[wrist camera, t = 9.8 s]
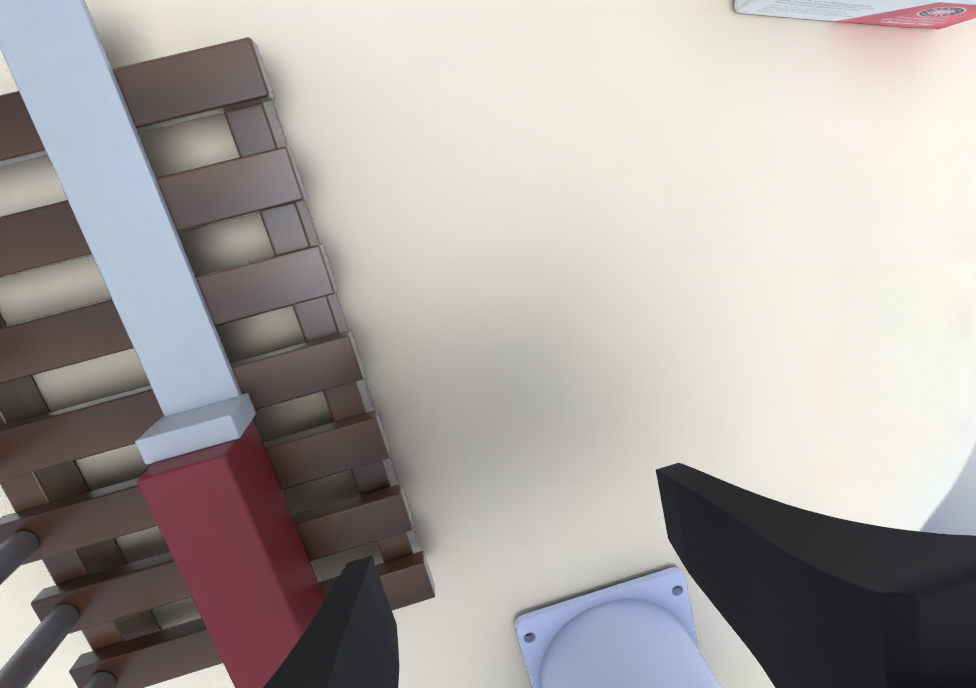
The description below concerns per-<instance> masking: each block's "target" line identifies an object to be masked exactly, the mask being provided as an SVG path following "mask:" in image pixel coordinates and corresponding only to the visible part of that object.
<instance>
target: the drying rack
mask: <svg viewBox="0 0 976 688" xmlns="http://www.w3.org/2000/svg"><path fill="white" fill-rule="evenodd" d="M112 70H113V72H114V75H115V77H116V80H117V82H118V85H119V87H120V90H121V92H122V95H123V98H124V100H125V103H126V105H127V108H128V110H129V113H130V115H131V118H132V120H133V123H134V125H135V128H136V130H137V133H140V132H144V131H148V130H153V129H157V128H161V127H165V126H169V125H173V124H177V123H182V122H186V121H190V120H194V119H198V118H202V117H206V116H210V115H215V114H219V113H223V112H224V114H225V117H226V119H227V122H228V125H229V128H230V131H231V134H232V136H233V139H234V142H235V145H236V148H237V150H238V153H239V156H240V158H236V159H232V160H227V161H223V162H219V163H215V164H211V165H207V166H203V167H199V168H195V169H191V170H187V171H183V172H179V173H175V174H171V175H167V176H163V177H159V178H156V180H157V183H158V185H159V188H160V190H161V193H162V195H163V198H164V200H165V203H166V205H167V208H168V210H169V213H170V215H171V218H172V220H173V223H174V225H175V228H176V230H177V233H179V232H183V231H187V230H191V229H195V228H199V227H203V226H207V225H211V224H215V223H219V222H222V221H226V220H230V219H234V218H238V217H242V216H246V215H250V214H254V213H258V212H259V213H260V215H261V218H262V221H263V224H264V227H265V229H266V232H267V235H268V238H269V241H270V244H271V246H272V249H273V252H274V255H275V256H271V257H267V258H263V259H259V260H256V261H252V262H248V263H244V264H240V265H236V266H233V267H229V268H225V269H221V270H217V271H213V272H210V273H206V274H202V275H198V276H195V278H196V280H197V283H198V285H199V288H200V290H201V293H202V295H203V298H204V300H205V303H206V305H207V308H208V310H209V313H210V315H211V318H212V320H213V323H214V325H215V326H217V325H221V324H225V323H228V322H232V321H236V320H240V319H243V318H247V317H251V316H254V315H258V314H262V313H266V312H269V311H273V310H277V309H281V308H284V307H288V306H293V308H294V311H295V314H296V317H297V320H298V322H299V325H300V328H301V331H302V334H303V337H304V339H305V343H302V344H298V345H294V346H291V347H287V348H284V349H280V350H276V351H273V352H269V353H265V354H262V355H258V356H254V357H251V358H247V359H243V360H240V361H236V362H232V363H230V365H231V368H232V370H233V373H234V375H235V378H236V380H237V383H238V385H239V388H240V390H241V394H244V393H248V394H249V397H250V399H251V402H252V404H253V407H254V409H255V410H257V409H260V408H264V407H267V406H271V405H274V404H278V403H282V402H285V401H289V400H292V399H296V398H299V397H303V396H306V395H310V394H314V393H317V392H321V391H323V393H324V396H325V399H326V401H327V404H328V407H329V410H330V413H331V416H332V418H333V421H334V422H332V423H329V424H325V425H322V426H318V427H315V428H311V429H308V430H304V431H301V432H297V433H294V434H290V435H287V436H283V437H280V438H276V439H273V440H269V441H266V442H262V443H263V445H264V448H265V450H266V453H267V455H268V458H269V460H270V463H271V465H272V468H273V471H274V473H275V476H276V478H277V481H278V483H279V486H280V488H281V489H285V488H288V487H292V486H295V485H299V484H302V483H306V482H309V481H312V480H316V479H319V478H323V477H326V476H330V475H333V474H336V473H340V472H343V471H347V470H350V469H351V472H352V475H353V478H354V480H355V483H356V486H357V489H358V492H359V494H360V496H357V497H353V498H350V499H346V500H343V501H340V502H336V503H333V504H330V505H326V506H323V507H319V508H316V509H313V510H309V511H306V512H302V513H299V514H296V515H292V518H293V521H294V523H295V526H296V528H297V531H298V533H299V536H300V538H301V541H302V543H303V546H304V548H305V551H306V553H307V556H308V558H309V561H312V560H315V559H318V558H322V557H325V556H328V555H332V554H335V553H338V552H342V551H345V550H348V549H352V548H355V547H358V546H362V545H365V544H368V543H372V542H375V541H376V542H377V545H378V548H379V551H380V554H381V557H382V559H383V562H384V563H380V564H377V565H375V566H376V569H377V571H378V574H379V577H380V580H381V582H382V585H383V588H384V591H385V593H386V596H387V599H388V602H389V605H390V607H391V610H395V609H398V608H402V607H405V606H408V605H411V604H415V603H418V602H421V601H424V600H427V599H431V598H434V597H435V586H434V581H433V578H432V575H431V572H430V569H429V566H428V563H427V560H426V557H425V554H424V551H421V549H420V546H419V543H418V540H417V537H416V534H415V530H414V527H413V518H412V515H411V512H410V508H409V505H408V502H407V499H406V496H405V493H404V490H403V487H402V485H401V484H399V482H398V479H397V476H396V473H395V470H394V467H393V464H392V461H391V458H390V455H389V453H390V447H389V444H388V441H387V438H386V435H385V432H384V429H383V426H382V423H381V420H380V417H379V414H378V411H377V410H375V409H374V406H373V403H372V400H371V397H370V394H369V391H368V388H367V385H366V382H365V379H364V373H365V371H364V368H363V365H362V362H361V359H360V356H359V353H358V350H357V347H356V344H355V341H354V338H353V335H352V332H351V331H349V330H348V327H347V324H346V321H345V318H344V315H343V312H342V309H341V306H340V303H339V300H338V297H337V294H336V291H337V286H336V283H335V280H334V277H333V274H332V271H331V268H330V264H329V261H328V258H327V255H326V252H325V249H324V246H323V244H321V243H320V242H319V239H318V236H317V233H316V230H315V227H314V224H313V221H312V218H311V215H310V212H309V209H308V206H307V203H306V200H307V195H306V192H305V189H304V185H303V182H302V179H301V176H300V173H299V170H298V167H297V164H296V161H295V158H294V155H293V152H292V150H291V148H288V145H287V142H286V139H285V136H284V133H283V130H282V127H281V124H280V121H279V118H278V115H277V112H276V109H275V106H274V103H273V100H274V94H273V91H272V88H271V85H270V82H269V79H268V76H267V73H266V70H265V67H264V64H263V61H262V58H261V55H260V52H259V49H258V46H257V44H256V43H255V42H254V41H253V40H252V39H251V38H248V37H247V38H243V39H239V40H235V41H230V42H226V43H222V44H217V45H213V46H209V47H205V48H200V49H196V50H192V51H188V52H183V53H179V54H175V55H170V56H166V57H162V58H158V59H153V60H149V61H145V62H140V63H136V64H132V65H128V66H123V67H119V68H115V69H112ZM45 155H48V154H47V152H46V150H45V147H44V145H43V143H42V141H41V139H40V136H39V134H38V132H37V130H36V127H35V125H34V123H33V121H32V118H31V116H30V114H29V112H28V109H27V107H26V105H25V103H24V101H23V98H22V96H21V94H20V92H19V91H16V92H12V93H8V94H3V95H0V166H4V165H8V164H12V163H16V162H20V161H25V160H29V159H33V158H37V157H41V156H45ZM90 255H92V253H91V250H90V248H89V246H88V244H87V241H86V239H85V237H84V235H83V233H82V230H81V228H80V226H79V224H78V221H77V219H76V217H75V215H74V212H73V210H72V208H71V206H70V203H69V201H68V200H66V201H62V202H58V203H54V204H50V205H46V206H42V207H38V208H34V209H30V210H26V211H22V212H18V213H14V214H10V215H6V216H2V217H0V278H3V277H7V276H11V275H15V274H19V273H23V272H27V271H31V270H35V269H39V268H43V267H46V266H50V265H54V264H58V263H62V262H66V261H70V260H74V259H78V258H82V257H86V256H90ZM132 348H134V347H133V344H132V342H131V340H130V338H129V335H128V333H127V331H126V329H125V327H124V324H123V322H122V320H121V318H120V315H119V313H118V311H117V309H116V306H115V304H114V302H113V300H112V298H110V299H106V300H103V301H99V302H95V303H91V304H87V305H83V306H80V307H76V308H72V309H68V310H64V311H61V312H57V313H53V314H49V315H45V316H41V317H38V318H34V319H30V320H26V321H22V322H19V323H15V324H11V325H7V326H5V324H4V322H3V320H2V318H1V316H0V485H1V487H2V489H3V490H4V492H5V494H6V496H7V498H8V499H9V501H10V503H11V505H12V507H13V508H14V510H15V512H16V513H13V514H9V515H6V516H2V517H1V518H0V585H1V584H2V583H3V582H4V581H5V580H6V579H7V578H8V577H9V576H10V575H11V574H12V573H13V572H14V571H15V570H17V569H18V568H19V567H20V566H21V565H24V564H27V563H31V562H34V561H38V560H41V559H42V560H43V562H44V564H45V566H46V567H47V569H48V571H49V573H50V575H51V576H52V578H53V580H54V582H55V584H56V585H55V586H51V587H48V588H45V589H43V590H42V591H41V592H40V593H39V594H38V595H37V596H36V598H35V599H34V600H33V601H32V602H31V606H32V608H33V609H34V611H35V613H36V614H37V616H38V618H39V620H40V621H41V623H40V624H39V625H38V627H37V628H36V629H35V630H34V631H33V632H32V634H31V635H30V636H29V637H28V638H27V639H26V641H25V642H24V643H23V644H22V645H21V646H20V648H19V649H18V650H17V651H16V652H15V653H14V655H13V656H12V657H11V658H10V659H9V661H8V662H7V663H6V664H5V665H4V666H3V668H2V669H1V670H0V688H27V686H28V685H29V684H30V682H31V681H32V680H33V678H34V677H35V676H36V675H37V673H38V672H39V671H40V669H41V668H42V667H43V666H44V664H45V663H46V662H47V660H48V659H49V658H50V656H51V655H52V654H53V653H54V651H55V650H56V649H57V647H58V646H59V645H60V643H61V642H62V641H63V640H64V638H65V637H66V636H67V634H69V633H73V632H76V631H79V630H82V632H83V634H84V636H85V637H86V639H87V641H88V643H89V645H90V646H91V648H92V650H93V651H91V652H88V653H85V654H82V655H80V656H79V658H78V659H77V661H76V662H75V664H74V665H73V666H72V668H71V669H70V671H69V673H70V674H71V676H72V678H73V680H74V681H75V683H76V685H77V686H78V688H144V687H147V686H151V685H154V684H157V683H160V682H163V681H167V680H170V679H173V678H176V677H180V676H183V675H186V674H189V673H192V672H196V671H199V670H202V669H205V668H208V667H212V666H215V665H218V664H221V663H223V661H222V659H221V657H220V655H219V653H218V651H217V649H216V647H215V644H214V642H213V640H212V638H211V636H210V634H209V632H208V630H207V628H206V626H205V624H204V622H203V619H202V618H200V619H196V620H193V621H190V622H186V623H183V624H180V625H177V626H173V627H170V628H167V629H163V630H160V629H159V627H158V625H157V623H156V621H155V619H154V617H153V615H152V613H151V611H150V609H152V608H156V607H159V606H162V605H166V604H169V603H172V602H176V601H179V600H182V599H186V598H189V597H192V596H191V594H190V592H189V590H188V588H187V586H186V584H185V582H184V580H183V578H182V576H181V574H180V571H179V569H178V567H177V565H176V563H175V561H174V559H173V557H172V555H171V553H170V552H167V553H163V554H160V555H157V556H153V557H150V558H146V559H143V560H140V561H136V562H133V563H129V564H126V562H125V560H124V558H123V556H122V554H121V552H120V550H119V548H118V546H117V544H116V542H115V540H114V538H117V537H120V536H124V535H127V534H130V533H134V532H137V531H141V530H144V529H148V528H151V527H154V526H157V523H156V521H155V519H154V517H153V515H152V513H151V511H150V509H149V507H148V505H147V503H146V501H145V498H144V496H143V494H142V492H141V490H140V488H139V486H138V484H137V480H138V478H136V479H132V480H129V481H125V482H122V483H118V484H115V485H111V486H107V487H104V488H100V489H97V490H93V491H89V489H88V487H87V485H86V483H85V481H84V479H83V477H82V475H81V473H80V471H79V470H78V468H77V466H76V464H75V462H74V461H75V460H78V459H82V458H85V457H89V456H92V455H96V454H100V453H103V452H107V451H110V450H114V449H117V448H121V447H125V446H128V445H132V444H135V441H136V440H137V439H138V438H139V437H140V436H142V435H143V434H144V433H145V432H146V431H147V430H148V429H149V428H150V427H151V426H153V425H154V424H155V423H156V422H157V421H158V420H159V419H160V418H161V417H163V416H164V414H163V412H162V409H161V407H160V405H159V403H158V400H157V398H156V396H155V394H154V391H153V389H152V387H151V385H148V386H145V387H141V388H137V389H134V390H130V391H126V392H123V393H119V394H115V395H112V396H108V397H104V398H101V399H97V400H93V401H90V402H86V403H82V404H79V405H75V406H72V407H68V408H64V409H61V410H57V411H53V412H50V413H49V411H48V409H47V407H46V405H45V403H44V401H43V399H42V397H41V395H40V393H39V391H38V389H37V387H36V385H35V383H34V381H33V379H32V377H31V375H35V374H38V373H42V372H46V371H50V370H53V369H57V368H61V367H65V366H68V365H72V364H76V363H79V362H83V361H87V360H91V359H94V358H98V357H102V356H105V355H109V354H113V353H117V352H120V351H124V350H128V349H132ZM338 577H339V576H338ZM338 577H334V578H331V579H328V580H324V581H321V582H318V583H319V586H320V588H321V591H322V593H323V596H324V598H325V599H326V597H327V595H328V594H329V592H330V590H331V589H332V587H333V585H334V584H335V582H336V580H337V579H338Z"/></svg>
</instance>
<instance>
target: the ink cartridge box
mask: <svg viewBox="0 0 976 688" xmlns="http://www.w3.org/2000/svg"><path fill="white" fill-rule="evenodd" d="M734 7H735V11H736V12H739V13H745V14H757V15H768V16H779V17H791V18H802V19H813V20H826V21H840V22H851V23H865V24H877V25H887V26H900V27H918V28H932V29H942V28H945V27H948V26H951V25H954V24H957V23H960V22H963V21H967V20H970V19H973V18H976V0H735V4H734Z"/></svg>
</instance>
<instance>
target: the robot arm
mask: <svg viewBox="0 0 976 688" xmlns="http://www.w3.org/2000/svg"><path fill="white" fill-rule="evenodd" d="M656 474H657V479H658V485H659V490H660V496H661V501H662V507H663V512H664V518H665V523H666V529H667V534H668V539H669V541H670V543H671V544H672V546H673V548H674V550H675V551H676V553H677V555H678V556H679V558H680V560H681V561H682V563H683V564H684V566H685V568H686V569H687V571H688V573H689V574H690V575H691V577H692V578H693V579H694V581H695V582H696V583H697V584H698V586H699V587H700V588H701V589H702V591H703V592H704V593H705V595H706V596H707V597H708V598H709V600H710V601H711V602H712V603H713V605H714V606H715V607H716V608H717V610H718V611H719V612H720V613H721V615H722V616H723V617H724V618H725V620H726V621H727V622H728V623H729V625H730V626H731V627H732V628H733V630H734V631H735V632H736V633H737V635H738V636H739V637H740V638H741V640H742V641H743V642H744V643H745V645H746V646H747V647H748V648H749V650H750V651H751V653H752V654H753V655H754V657H755V658H756V659H757V661H758V662H759V663H760V665H761V666H762V668H763V669H764V671H765V672H766V674H767V675H768V677H769V678H770V680H771V682H772V683H773V685H774V686H775V688H976V536H969V535H967V536H966V535H948V534H937V533H928V532H918V531H909V530H901V529H894V528H887V527H881V526H875V525H870V524H864V523H859V522H853V521H848V520H844V519H839V518H835V517H831V516H827V515H823V514H819V513H815V512H811V511H807V510H804V509H800V508H797V507H794V506H790V505H787V504H784V503H781V502H778V501H775V500H772V499H769V498H766V497H764V496H761V495H758V494H755V493H753V492H750V491H748V490H745V489H742V488H740V487H737V486H735V485H732V484H730V483H727V482H725V481H723V480H720V479H718V478H715V477H713V476H711V475H708V474H706V473H704V472H701V471H699V470H697V469H694V468H692V467H689V466H687V465H684V464H681V463H676V464H673V465H670V466H666V467H663V468H660V469H657V470H656ZM675 586H678V587H677V588H676V589H674V590H672V589H673V588H674V587H675ZM515 629H516V633H517V637H518V640H519V643H520V647H521V650H522V654H523V657H524V661H525V664H526V668H527V671H528V675H529V678H530V682H531V685H532V688H722V686H721V685H720V683H719V682H718V680H717V679H716V677H715V675H714V674H713V672H712V671H711V669H710V668H709V666H708V665H707V663H706V661H705V660H704V658H703V657H702V655H701V654H700V652H699V651H698V645H697V639H696V634H695V628H694V622H693V617H692V611H691V605H690V600H689V594H688V588H687V583H686V577H685V575H684V573H683V572H682V571H681V570H680V569H679V568H676V567H672V568H668V569H665V570H662V571H659V572H655V573H652V574H649V575H646V576H643V577H640V578H636V579H633V580H630V581H627V582H624V583H621V584H617V585H614V586H611V587H608V588H605V589H602V590H598V591H595V592H592V593H589V594H586V595H583V596H580V597H576V598H573V599H570V600H567V601H564V602H561V603H557V604H554V605H551V606H548V607H545V608H542V609H538V610H535V611H532V612H529V613H526V614H523V615H521V616H519V617H518V618H517V619H516V621H515ZM528 633H532V635H530V636H525V635H526V634H528ZM398 682H399V652H398V637H397V624H396V621H395V618H394V616H393V613H392V610H391V607H390V605H389V602H388V599H387V596H386V593H385V591H384V588H383V585H382V582H381V580H380V577H379V574H378V571H377V569H376V566H375V563H374V560H373V557H372V556H369V557H366V558H363V559H359V560H356V561H353V562H350V563H347V564H346V566H345V567H344V569H343V570H342V572H341V574H340V575H339V577H338V579H337V580H336V582H335V584H334V585H333V587H332V589H331V590H330V592H329V594H328V595H327V597H326V599H325V600H324V602H323V604H322V605H321V607H320V608H319V610H318V612H317V613H316V615H315V616H314V618H313V619H312V621H311V623H310V624H309V626H308V627H307V629H306V630H305V632H304V633H303V635H302V636H301V637H300V639H299V640H298V642H297V643H296V645H295V646H294V647H293V649H292V650H291V652H290V653H289V655H288V656H287V657H286V659H285V660H284V662H283V663H282V664H281V666H280V667H279V668H278V669H277V671H276V672H275V673H274V675H273V676H272V677H271V678H270V680H269V681H268V682H267V683H266V684H265V686H264V687H263V688H398Z"/></svg>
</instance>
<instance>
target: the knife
mask: <svg viewBox="0 0 976 688" xmlns="http://www.w3.org/2000/svg"><path fill="white" fill-rule="evenodd" d="M0 49H1V51H2V54H3V56H4V58H5V60H6V62H7V65H8V67H9V69H10V71H11V74H12V76H13V78H14V80H15V83H16V85H17V87H18V89H19V92H20V94H21V96H22V98H23V101H24V103H25V105H26V107H27V109H28V112H29V114H30V116H31V118H32V121H33V123H34V125H35V127H36V130H37V132H38V134H39V136H40V139H41V141H42V143H43V145H44V147H45V150H46V152H47V154H48V156H49V159H50V161H51V163H52V165H53V168H54V170H55V172H56V174H57V177H58V179H59V181H60V183H61V186H62V188H63V190H64V192H65V194H66V197H67V199H68V201H69V203H70V206H71V208H72V210H73V212H74V215H75V217H76V219H77V221H78V224H79V226H80V228H81V230H82V233H83V235H84V237H85V239H86V241H87V244H88V246H89V248H90V250H91V253H92V255H93V257H94V259H95V262H96V264H97V266H98V268H99V271H100V273H101V275H102V277H103V280H104V282H105V284H106V286H107V288H108V291H109V293H110V295H111V297H112V300H113V302H114V304H115V306H116V309H117V311H118V313H119V315H120V318H121V320H122V322H123V324H124V327H125V329H126V331H127V333H128V335H129V338H130V340H131V342H132V344H133V347H134V349H135V351H136V353H137V356H138V358H139V360H140V362H141V365H142V367H143V369H144V371H145V374H146V376H147V378H148V380H149V382H150V385H151V387H152V389H153V391H154V394H155V396H156V398H157V400H158V403H159V405H160V407H161V409H162V412H163V414H164V416H163V417H161V418H160V419H159V420H158V421H157V422H156V423H155V424H154V425H153V426H151V427H150V428H149V429H148V430H147V431H146V432H145V433H144V434H143V435H142V436H140V437H139V438H138V439H137V440H136V441H135V444H136V446H137V448H138V450H139V452H140V454H141V456H142V459H143V461H144V463H145V464H146V465H147V464H151V463H153V464H152V465H151V466H150V467H149V468H148V469H147V470H146V471H145V472H144V473H143V474H142V475H141V476H140V477H139V478H138V480H137V484H138V486H139V488H140V490H141V492H142V494H143V496H144V498H145V501H146V503H147V505H148V507H149V509H150V511H151V513H152V515H153V517H154V519H155V521H156V523H157V526H158V528H159V530H160V532H161V534H162V536H163V538H164V540H165V542H166V544H167V546H168V549H169V551H170V553H171V555H172V557H173V559H174V561H175V563H176V565H177V567H178V569H179V571H180V574H181V576H182V578H183V580H184V582H185V584H186V586H187V588H188V590H189V592H190V594H191V596H192V599H193V601H194V603H195V605H196V607H197V609H198V611H199V613H200V615H201V617H202V619H203V622H204V624H205V626H206V628H207V630H208V632H209V634H210V636H211V638H212V640H213V642H214V644H215V647H216V649H217V651H218V653H219V655H220V657H221V659H222V661H223V663H224V665H225V667H226V669H227V672H228V674H229V676H230V678H231V680H232V682H233V684H234V686H235V688H263V687H264V686H265V684H266V683H267V682H268V681H269V680H270V678H271V677H272V676H273V675H274V673H275V672H276V671H277V669H278V668H279V667H280V666H281V664H282V663H283V662H284V660H285V659H286V657H287V656H288V655H289V653H290V652H291V650H292V649H293V647H294V646H295V645H296V643H297V642H298V640H299V639H300V637H301V636H302V635H303V633H304V632H305V630H306V629H307V627H308V626H309V624H310V623H311V621H312V619H313V618H314V616H315V615H316V613H317V612H318V610H319V608H320V607H321V605H322V604H323V602H324V600H325V598H324V596H323V593H322V591H321V588H320V586H319V583H318V581H317V578H316V576H315V573H314V571H313V568H312V566H311V563H310V561H309V558H308V556H307V553H306V551H305V548H304V546H303V543H302V541H301V538H300V536H299V533H298V531H297V528H296V526H295V523H294V521H293V518H292V516H291V513H290V511H289V508H288V506H287V503H286V501H285V498H284V496H283V493H282V491H281V488H280V486H279V483H278V481H277V478H276V476H275V473H274V471H273V468H272V465H271V463H270V460H269V458H268V455H267V453H266V450H265V448H264V445H263V443H262V440H261V438H260V435H259V433H258V430H257V428H256V425H255V423H254V420H253V418H254V416H255V415H256V412H255V409H254V407H253V404H252V402H251V399H250V397H249V394H248V393H244V394H241V390H240V388H239V385H238V383H237V380H236V378H235V375H234V373H233V370H232V368H231V365H230V363H229V360H228V358H227V355H226V353H225V350H224V348H223V345H222V343H221V340H220V338H219V335H218V333H217V330H216V328H215V325H214V323H213V320H212V318H211V315H210V313H209V310H208V308H207V305H206V303H205V300H204V298H203V295H202V293H201V290H200V288H199V285H198V283H197V280H196V278H195V275H194V273H193V270H192V268H191V265H190V263H189V260H188V258H187V255H186V253H185V250H184V248H183V245H182V243H181V240H180V238H179V235H178V233H177V230H176V228H175V225H174V223H173V220H172V218H171V215H170V213H169V210H168V208H167V205H166V203H165V200H164V198H163V195H162V193H161V190H160V188H159V185H158V183H157V180H156V178H155V175H154V173H153V170H152V168H151V165H150V163H149V160H148V158H147V155H146V153H145V150H144V148H143V145H142V143H141V140H140V138H139V135H138V133H137V130H136V128H135V125H134V123H133V120H132V118H131V115H130V113H129V110H128V108H127V105H126V103H125V100H124V98H123V95H122V92H121V90H120V87H119V85H118V82H117V80H116V77H115V75H114V72H113V70H112V67H111V65H110V62H109V60H108V57H107V55H106V52H105V50H104V47H103V45H102V42H101V40H100V37H99V35H98V32H97V30H96V27H95V25H94V22H93V20H92V17H91V15H90V12H89V10H88V7H87V5H86V2H85V0H0Z"/></svg>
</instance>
